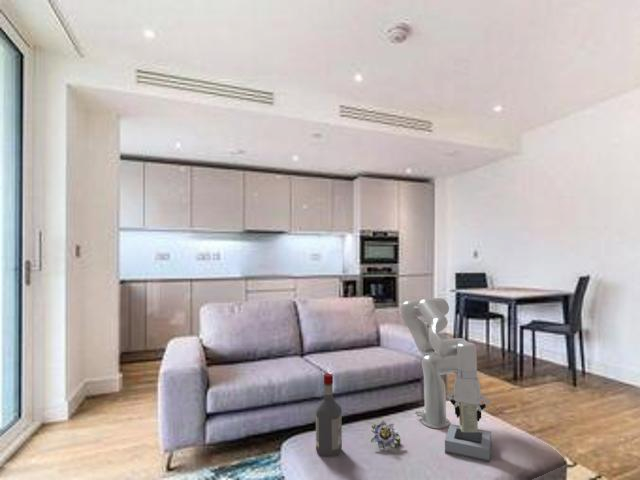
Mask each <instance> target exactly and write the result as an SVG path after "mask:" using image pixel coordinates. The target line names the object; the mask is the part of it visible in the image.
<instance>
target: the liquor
mask: <svg viewBox="0 0 640 480" xmlns="http://www.w3.org/2000/svg"><path fill="white" fill-rule="evenodd" d="M333 385H334V374H333V373H325V374H323V387H324V389H323V391H324V392H323V393H324V394H323V396H324V397H323V400H322V401H321V402H320V404H319V405H317V407H316V410H315V451H316V452H317V454H318V455H319V456H324V457H329V458H333V457H337V456H338V455H339V453H340V451H341V450H342V443H343V439H342V437H343V435H342V434H343V433H342V432H343V431H342V428H343V427H342V421H343V420H342V419H343V418H342V407H341V405H340V404H339V403H338V402H337V401H336V400H335V399H334V394H333V393H334V391H333V390H334V389H333Z"/></svg>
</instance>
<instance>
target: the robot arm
mask: <svg viewBox="0 0 640 480" xmlns="http://www.w3.org/2000/svg"><path fill="white" fill-rule="evenodd" d="M449 310H450V306H449V303H448V301H447V300H446V299H445V298H442V297H428V298H423V299H412V300H411V299H410V300H406V301H405V302H403V303H402V304H401V307H400V312H401V318H402V320H403V322H404V324H405V326H406V327H407V328H408V330H409V331H410V334H411V337H412V338H413V341H414V343H415V346H416V347H417V350H418V351H419V352H420V353H421V354H422V355H424V356H423V357H422V358H421V367H422V368H421V369H422V373H423V374H422V375H423V388H424V393H423V394H424V395H423V396H424V410H417V409H416V410H415V414H416V417H419V418H420V417H421V423H422V424H423V426H426V427H428V428H430V429H431V428H432V429H436V430H437V429H439V430H440V429H441V430H442V429H446V428H449V426H450V424H451V421H450V420H449V419H448V418H447V399H448V400H449V402H450V403H451V405H453V407H454V415H456V418H457V419H459V403H461V401H462V402H464V403H466V404H471V405H476V407H477V422H480V419H482V410H484V409H485V408H486V407H487V406H488V405H489V404H490V399H488V398H487V397H486V396H485V395H484V394H482V389H481V382H480V378H479V377H478V362H477V361H478V360H477V359H478V357H477V345H476V343H472V342H469V341H467V340H466V339H465V338H461V337H457V338H456V337H455V338H448V336H447V335H446V334H444V333H441V332H442V331H443V330H444V329H445V328H446V327H447V325H448V319H447V317H446V316H445V315H448V313H449ZM419 317H423V319H424V321H425V322H426V323H425V322H424V321H423V320H422V319H420V318H419ZM427 325H428V326H429V328H428V326H427ZM450 374H456V375H455V376H454V382H453V390H452V391H450V392H449V393H448V394H447V393H446V392H447V391H446V384H445V383H446V382H445V381H444V380H443V378H442V377H441V376H442V375H450ZM482 401H483V403H482ZM481 403H482V404H481Z"/></svg>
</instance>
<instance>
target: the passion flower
mask: <svg viewBox="0 0 640 480" xmlns="http://www.w3.org/2000/svg"><path fill="white" fill-rule="evenodd" d="M394 427H395V423H390V424H387V422H386V420H385V419H381V422H380V423H378V424H375V423H374V424H373V425H371V428H372V430H371V433H373V434H375V435H374V437H372V438H371V440H370V442H371V443H376V442H377V445H378V448H379V449H381V448H383V451H385V452H386V451H388V448H389V446H390V448H395V441H396V442H397V444H398V446H400V445H401V443H402V442H401V436H400V435H399V430H398V429H395V428H394Z"/></svg>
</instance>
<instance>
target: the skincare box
mask: <svg viewBox="0 0 640 480" xmlns="http://www.w3.org/2000/svg"><path fill="white" fill-rule="evenodd" d="M458 405H459V418H458V419H459V426H460V429H461V431H462V432H478V429H479V427H478V426H479V425H478V422H479V421H477V409H478V408H477V407H476V405H471V404H466V403H464V402H462V401H461V403H459V404H458Z"/></svg>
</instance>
